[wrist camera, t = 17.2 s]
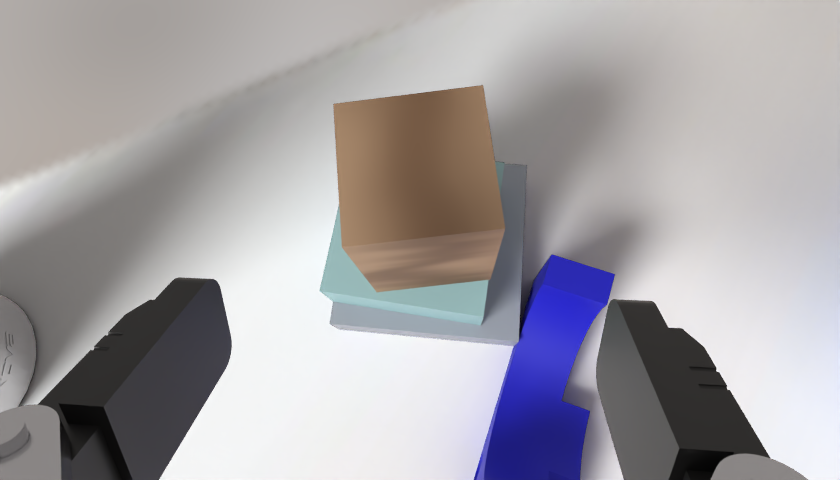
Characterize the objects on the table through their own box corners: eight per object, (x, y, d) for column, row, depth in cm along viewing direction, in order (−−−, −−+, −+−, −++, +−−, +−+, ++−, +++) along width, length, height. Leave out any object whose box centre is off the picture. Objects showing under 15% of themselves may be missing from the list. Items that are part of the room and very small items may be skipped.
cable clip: (553, 526, 27) (580, 561, 21) (469, 493, 27) (473, 518, 22) (609, 306, 30) (647, 284, 24) (533, 281, 30) (551, 254, 25)
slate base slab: (341, 330, 31) (329, 323, 28) (363, 174, 34) (354, 154, 31) (512, 347, 30) (518, 341, 27) (520, 185, 33) (526, 165, 30)
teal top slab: (333, 301, 28) (319, 290, 25) (362, 167, 30) (352, 143, 28) (480, 325, 27) (483, 316, 24) (500, 185, 30) (504, 162, 27)
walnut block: (376, 292, 25) (341, 247, 18) (368, 187, 27) (333, 103, 19) (490, 279, 25) (505, 228, 17) (475, 174, 27) (483, 85, 19)
